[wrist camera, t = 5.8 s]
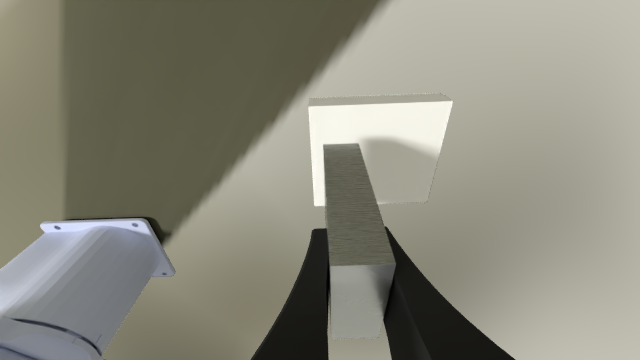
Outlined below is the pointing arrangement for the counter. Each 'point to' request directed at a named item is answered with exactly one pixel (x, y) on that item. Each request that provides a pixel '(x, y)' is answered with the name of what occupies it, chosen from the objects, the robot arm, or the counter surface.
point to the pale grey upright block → (354, 246)
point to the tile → (383, 140)
